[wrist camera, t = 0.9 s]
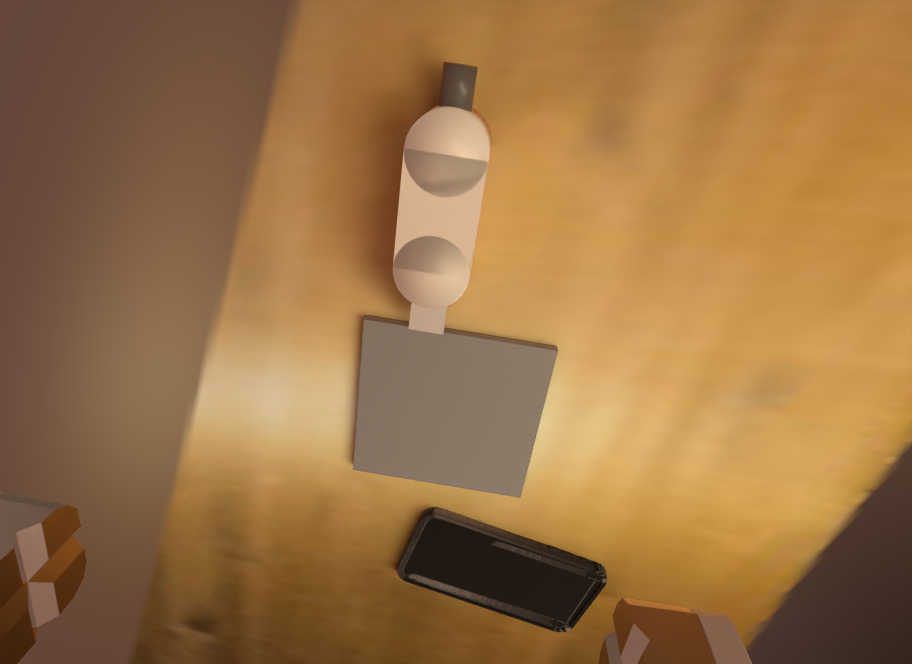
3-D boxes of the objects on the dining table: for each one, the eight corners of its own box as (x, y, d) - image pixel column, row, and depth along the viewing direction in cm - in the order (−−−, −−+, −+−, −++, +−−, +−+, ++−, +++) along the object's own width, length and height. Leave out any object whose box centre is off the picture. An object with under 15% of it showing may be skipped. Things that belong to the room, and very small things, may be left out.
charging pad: (366, 315, 35) (363, 319, 34) (557, 346, 35) (557, 351, 34) (355, 464, 40) (353, 469, 40) (520, 491, 40) (520, 497, 40)
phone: (566, 635, 46) (393, 577, 44) (565, 623, 47) (395, 566, 45) (613, 574, 42) (426, 509, 41) (611, 562, 43) (428, 498, 42)
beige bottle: (424, 57, 28) (412, 58, 25) (503, 69, 28) (502, 73, 25) (399, 308, 35) (386, 338, 31) (463, 318, 34) (457, 349, 31)
